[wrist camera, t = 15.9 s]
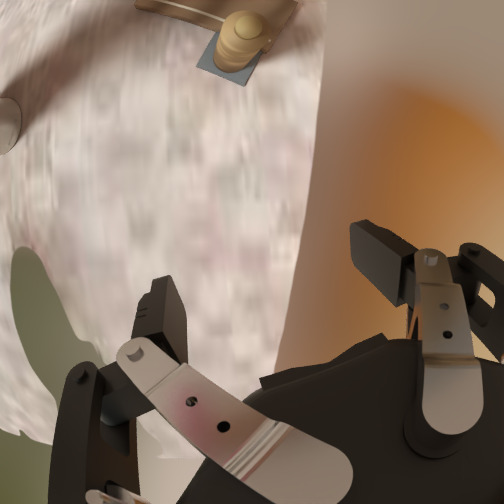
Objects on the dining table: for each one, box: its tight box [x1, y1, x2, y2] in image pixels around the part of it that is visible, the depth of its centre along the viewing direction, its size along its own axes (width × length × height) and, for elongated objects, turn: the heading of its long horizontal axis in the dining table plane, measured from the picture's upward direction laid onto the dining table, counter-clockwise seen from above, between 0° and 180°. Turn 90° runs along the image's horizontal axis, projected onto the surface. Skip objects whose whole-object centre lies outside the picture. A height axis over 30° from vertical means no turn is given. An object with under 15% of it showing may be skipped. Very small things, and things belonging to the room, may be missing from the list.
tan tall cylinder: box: [213, 10, 271, 73], centre depth 24 cm, size 5×5×13 cm
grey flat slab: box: [196, 31, 263, 87], centre depth 30 cm, size 7×6×1 cm
